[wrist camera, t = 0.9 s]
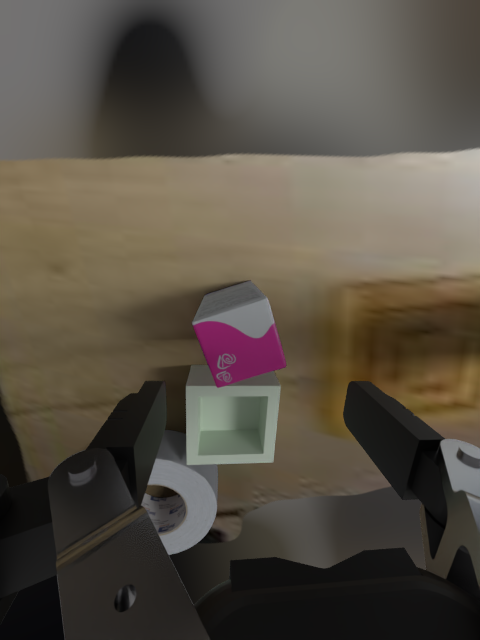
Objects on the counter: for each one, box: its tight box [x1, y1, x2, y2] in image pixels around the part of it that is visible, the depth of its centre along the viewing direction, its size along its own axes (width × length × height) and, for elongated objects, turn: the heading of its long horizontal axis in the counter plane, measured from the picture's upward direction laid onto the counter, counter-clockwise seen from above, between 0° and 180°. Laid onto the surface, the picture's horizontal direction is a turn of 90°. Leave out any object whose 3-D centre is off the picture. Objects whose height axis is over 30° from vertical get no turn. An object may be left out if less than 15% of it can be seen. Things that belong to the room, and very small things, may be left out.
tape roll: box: [141, 430, 218, 555], centre depth 31 cm, size 15×15×5 cm
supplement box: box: [192, 280, 286, 388], centre depth 22 cm, size 6×6×12 cm
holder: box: [186, 365, 281, 465], centre depth 28 cm, size 10×10×5 cm
